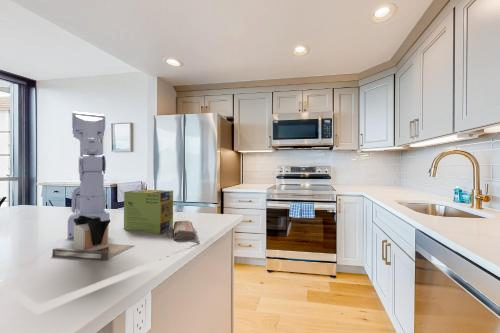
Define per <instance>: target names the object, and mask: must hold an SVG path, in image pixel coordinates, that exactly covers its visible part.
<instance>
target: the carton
mask: <svg viewBox="0 0 500 333" xmlns="http://www.w3.org/2000/svg"><path fill="white" fill-rule="evenodd" d="M109 224H110V223H109ZM109 224H108V226H107V228H106V230H105V233H104V236H103V240H102V243H101V244H98V245H93V244H92V239H91V232H90V229H89V226H88V224H82V225H76V226H74V237H73V248H74V249H77V250H89V251H95V250H99V249H102V248H106V247H108V244H109V226H110V225H109Z"/></svg>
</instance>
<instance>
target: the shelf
mask: <svg viewBox="0 0 500 333" xmlns="http://www.w3.org/2000/svg"><path fill="white" fill-rule="evenodd" d="M132 248H135V245H130V244H129V245H128V244H118V243H117V244H116V243H108V247H106V248H102V249H99V250H95V251H89V250H77V249H74V247H72V248H61V247H55V248H53V249H52V253H51V254H52V256H51V257H61V258H69V259H71V258H72V259H83V260H93V261H107V260H109V259H112V258H113V257H115V256H117V255H119V254H121V253H123V252H125V251H128V250H130V249H132Z"/></svg>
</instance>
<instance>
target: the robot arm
mask: <svg viewBox="0 0 500 333" xmlns="http://www.w3.org/2000/svg"><path fill="white" fill-rule="evenodd" d="M71 116H72V117H71V128H72V135H73V137H74V138H75V139H76V140H79V153H80V154H79V155H80V156H78V174H79V182H80V183H79V185H78V186H77V187H75V188H74V189H73V190H72V191H71V212H72V214H71V215H70V216H69V217H68V219H67V239H72V238H74V226H76V225H82V224H88V226H89V229H90V232H91V239H92V244H93V245H98V244H101V243H102V240H103V236H104V233H105V230H106V228H107V226H108V224H110V223H111V219H110V212H107V211H106V210H105V209H106V207H107V206H106V204H107V202H106V193H105V191H106V190H105V189H104V185H105V184H104V178H105V177H104V175H105V174H106V171H107V170H106V168H107V160H106V156H105V154H104V152H103V145H102V142H101V140H103V139H104V135H105V131H106V116H105V114H99V113H98V114H97V113H90V112H80V111H79V112H78V111H72V114H71Z"/></svg>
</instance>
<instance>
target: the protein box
mask: <svg viewBox="0 0 500 333" xmlns="http://www.w3.org/2000/svg"><path fill="white" fill-rule="evenodd" d="M123 194H124V196H123V198H124V199H123V201H124V202H123V230H129V231H133V230H134V231H139V232H144V233H148V234H153V235H162V234H164V233H165V232H167V231H169V229H174V190H163V189H138V190H137V189H136V190H129V191H124V193H123Z"/></svg>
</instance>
